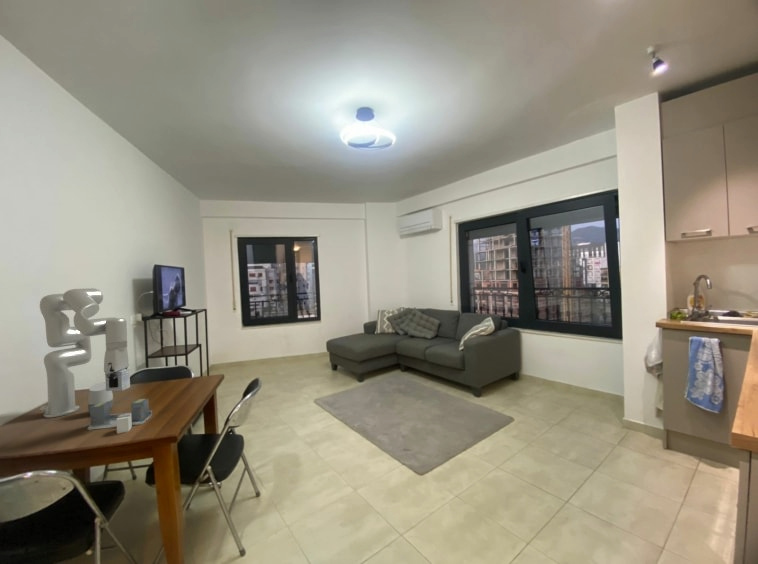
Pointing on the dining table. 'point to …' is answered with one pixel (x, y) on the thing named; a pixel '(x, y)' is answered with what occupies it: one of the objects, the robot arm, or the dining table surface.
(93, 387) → the smart speaker
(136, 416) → the rail
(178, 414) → the dining table surface
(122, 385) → the medicine box
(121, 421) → the block
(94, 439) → the dining table surface
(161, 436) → the dining table surface
